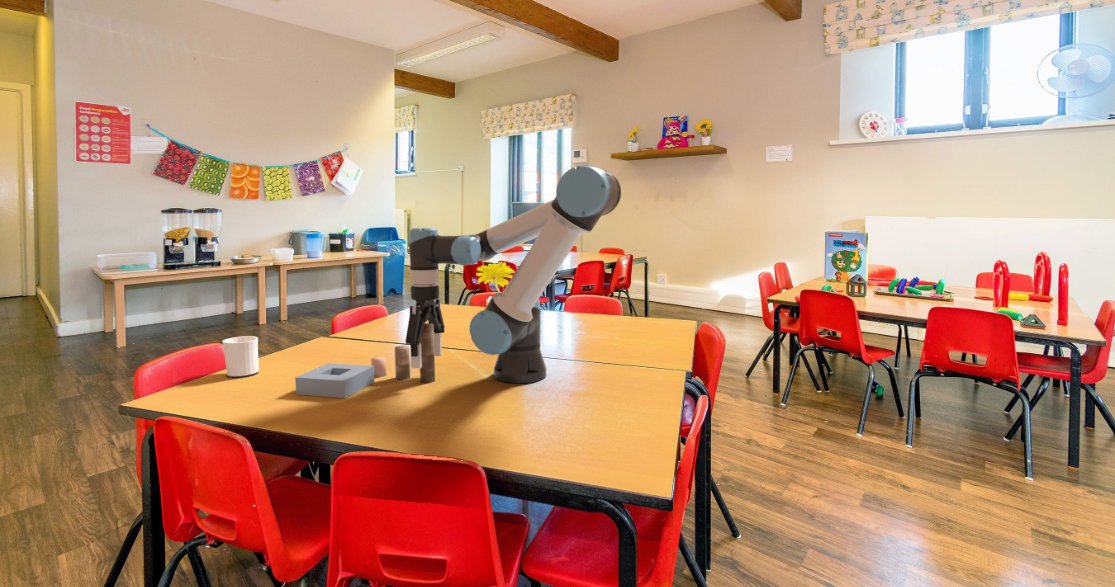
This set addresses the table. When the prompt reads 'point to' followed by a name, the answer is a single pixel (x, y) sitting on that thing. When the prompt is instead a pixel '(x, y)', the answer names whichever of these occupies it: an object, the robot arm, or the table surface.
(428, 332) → the pin long
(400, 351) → the pin medium
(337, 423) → the table surface
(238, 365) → the mug
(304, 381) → the socket
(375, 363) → the pin short
